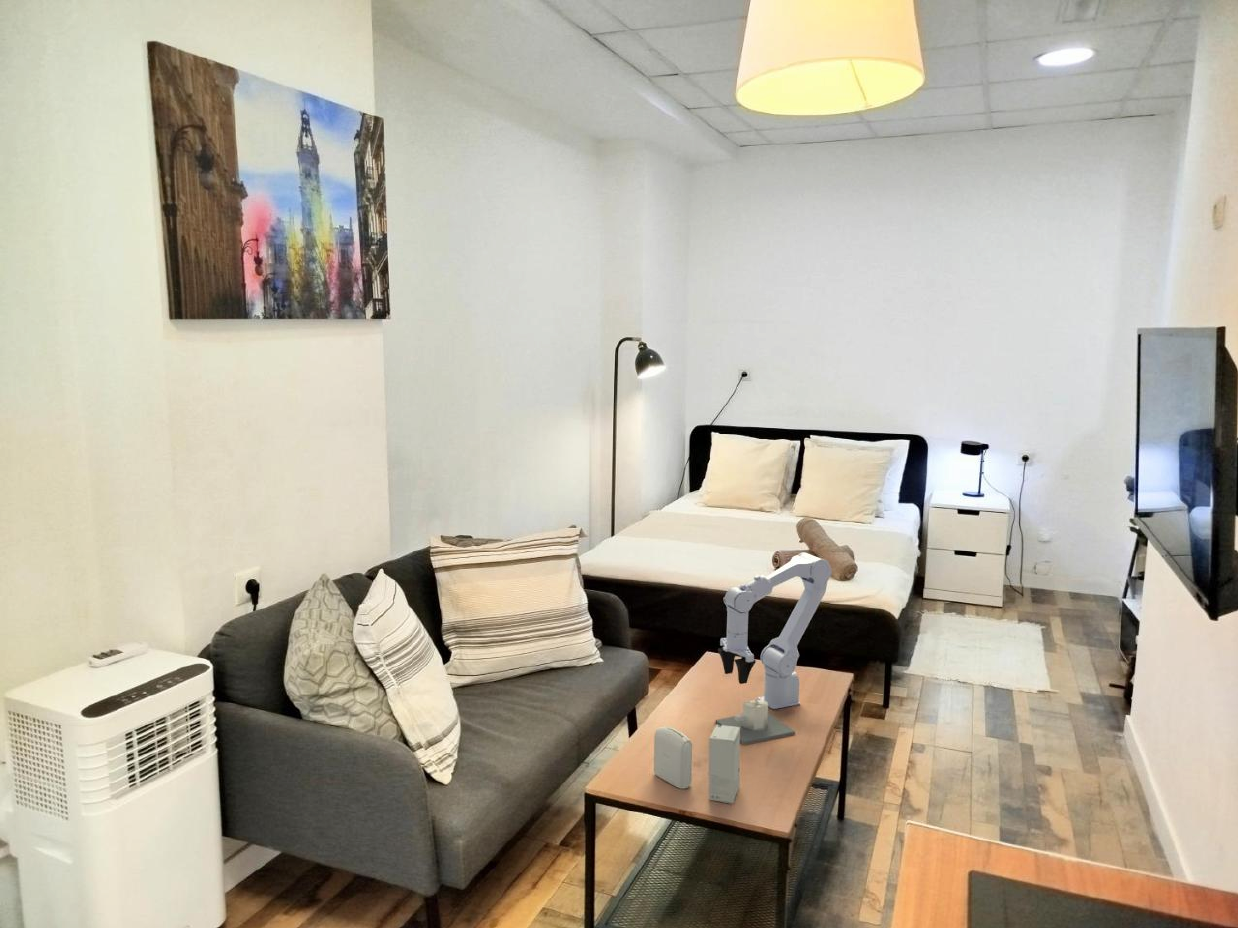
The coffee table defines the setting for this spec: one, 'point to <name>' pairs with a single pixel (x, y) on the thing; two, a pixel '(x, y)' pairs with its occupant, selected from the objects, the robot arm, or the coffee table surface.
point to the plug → (753, 714)
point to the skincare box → (724, 763)
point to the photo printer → (673, 757)
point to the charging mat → (759, 729)
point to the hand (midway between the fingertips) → (735, 678)
